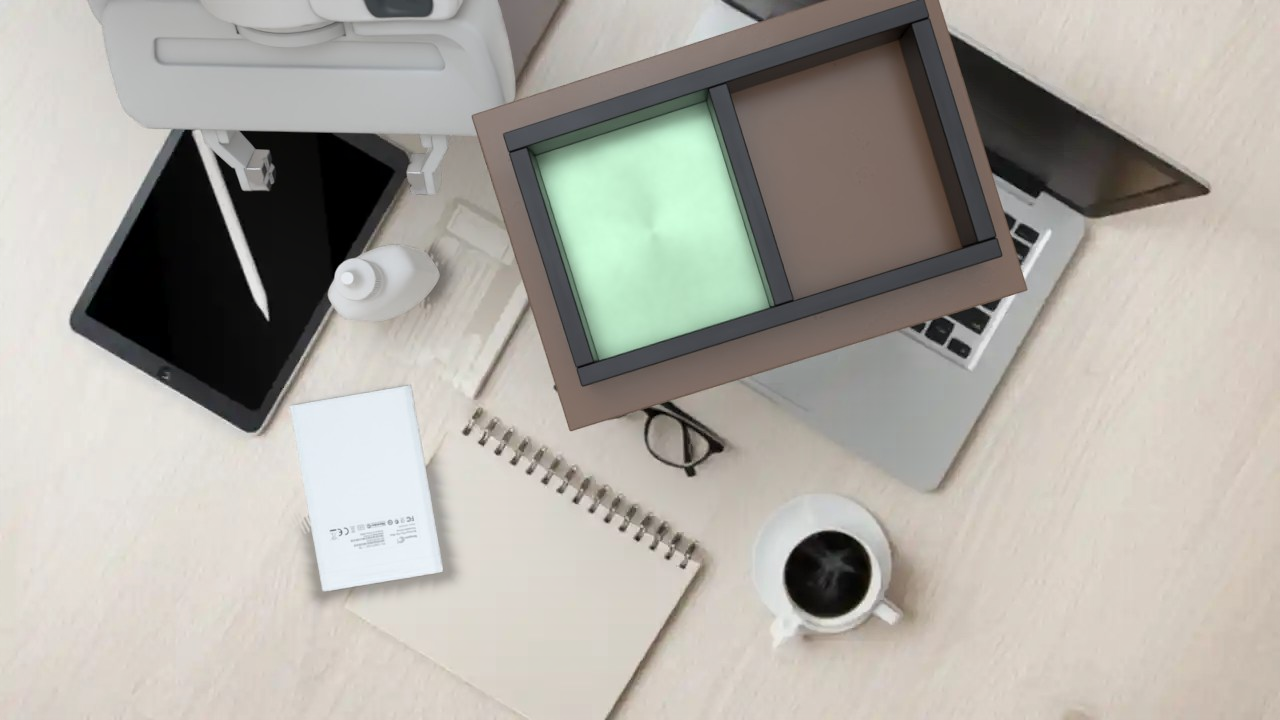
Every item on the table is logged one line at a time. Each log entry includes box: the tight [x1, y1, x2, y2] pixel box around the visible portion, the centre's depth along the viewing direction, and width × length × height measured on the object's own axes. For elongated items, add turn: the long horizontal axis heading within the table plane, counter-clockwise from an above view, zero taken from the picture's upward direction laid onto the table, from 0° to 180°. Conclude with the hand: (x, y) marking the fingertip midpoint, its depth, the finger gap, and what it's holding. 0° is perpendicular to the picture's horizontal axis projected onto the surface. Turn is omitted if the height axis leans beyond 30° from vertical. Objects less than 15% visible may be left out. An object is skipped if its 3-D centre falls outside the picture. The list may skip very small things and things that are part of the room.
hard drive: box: [289, 384, 444, 592], centre depth 72 cm, size 2×8×12 cm
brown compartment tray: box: [472, 0, 1028, 432], centre depth 45 cm, size 14×20×4 cm
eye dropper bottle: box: [327, 243, 441, 323], centre depth 67 cm, size 4×6×12 cm
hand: (343, 186), depth 62 cm, fingers open, 8 cm apart
